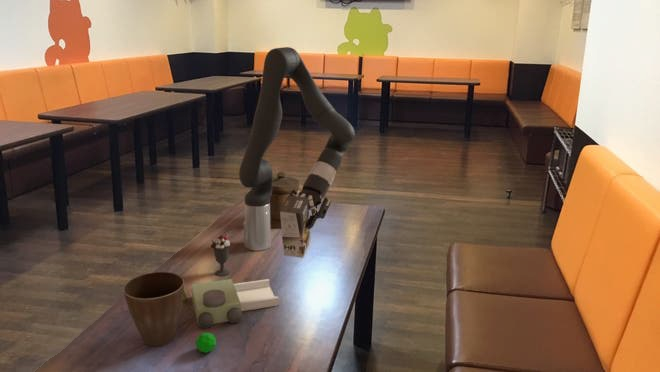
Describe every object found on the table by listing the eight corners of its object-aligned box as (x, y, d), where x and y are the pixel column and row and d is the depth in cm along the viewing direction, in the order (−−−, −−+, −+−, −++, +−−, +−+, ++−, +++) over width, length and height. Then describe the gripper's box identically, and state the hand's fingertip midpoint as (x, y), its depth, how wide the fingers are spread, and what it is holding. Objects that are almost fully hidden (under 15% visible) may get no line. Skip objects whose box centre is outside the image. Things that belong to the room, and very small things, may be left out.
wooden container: (297, 228, 222) (297, 177, 216) (261, 228, 222) (260, 176, 216) (300, 216, 236) (300, 167, 230) (266, 215, 236) (265, 167, 230)
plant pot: (155, 362, 134) (150, 304, 129) (116, 343, 141) (110, 288, 137) (199, 334, 146) (196, 280, 141) (161, 318, 153) (157, 267, 149)
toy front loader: (192, 296, 166) (190, 274, 164) (268, 285, 174) (268, 264, 171) (198, 329, 148) (197, 305, 146) (284, 315, 156) (283, 292, 154)
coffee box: (303, 258, 161) (300, 213, 153) (283, 255, 163) (278, 211, 154) (311, 240, 169) (308, 196, 160) (292, 237, 170) (288, 194, 162)
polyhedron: (192, 353, 138) (191, 337, 136) (203, 343, 142) (202, 327, 141) (209, 358, 136) (208, 341, 135) (220, 347, 140) (219, 331, 139)
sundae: (236, 270, 184) (234, 229, 179) (224, 278, 178) (222, 236, 174) (220, 267, 186) (218, 226, 182) (208, 274, 181) (206, 232, 176)
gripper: (296, 169, 169) (272, 213, 163) (333, 177, 161) (309, 224, 156) (306, 181, 175) (283, 225, 169) (343, 190, 167) (320, 236, 161)
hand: (296, 224), depth 162 cm, fingers closed on coffee box, 8 cm apart
